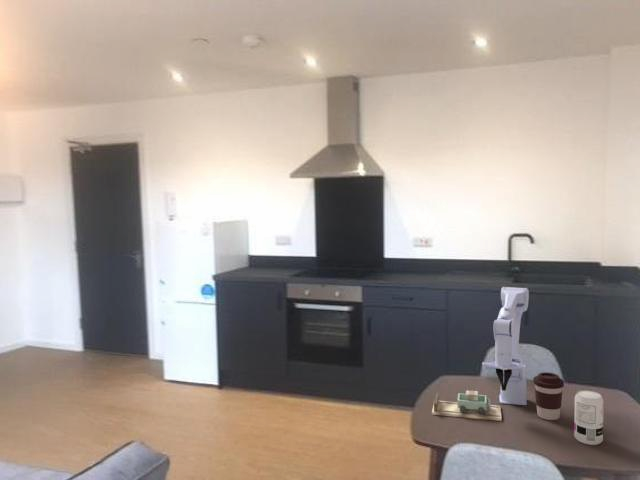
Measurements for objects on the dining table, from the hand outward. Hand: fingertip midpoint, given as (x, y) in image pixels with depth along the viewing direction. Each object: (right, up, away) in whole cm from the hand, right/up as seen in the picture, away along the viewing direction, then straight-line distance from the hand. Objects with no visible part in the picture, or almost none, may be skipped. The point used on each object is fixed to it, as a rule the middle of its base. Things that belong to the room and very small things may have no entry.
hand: (503, 389), depth 187 cm
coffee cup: (+15, -9, -2) cm, 18 cm away
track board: (-12, -9, +5) cm, 16 cm away
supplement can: (+20, -11, -20) cm, 30 cm away
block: (-10, -6, +4) cm, 13 cm away
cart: (-10, -8, +4) cm, 13 cm away
